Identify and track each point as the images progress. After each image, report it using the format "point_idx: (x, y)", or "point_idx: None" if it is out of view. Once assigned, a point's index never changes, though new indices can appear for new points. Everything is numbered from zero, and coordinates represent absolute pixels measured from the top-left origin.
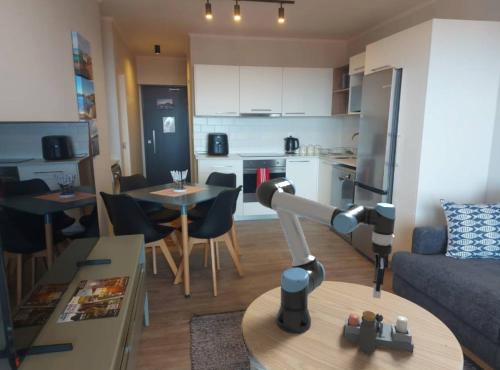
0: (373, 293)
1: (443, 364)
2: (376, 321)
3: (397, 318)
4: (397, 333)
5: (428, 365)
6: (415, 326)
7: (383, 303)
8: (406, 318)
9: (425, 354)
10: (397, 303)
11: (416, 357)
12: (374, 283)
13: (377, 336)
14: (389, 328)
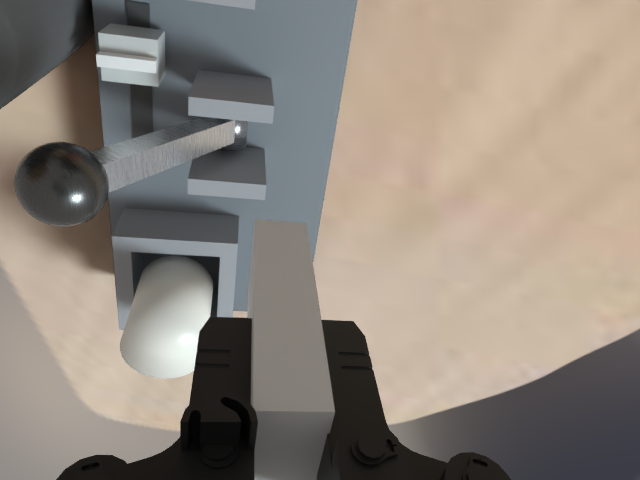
0: (271, 251)
1: (71, 371)
2: (130, 143)
3: (162, 320)
4: (118, 258)
5: (32, 316)
6: (373, 333)
7: (622, 228)
8: (182, 373)
9: None
10: (605, 299)
11: (80, 281)
12: (277, 386)
13: (133, 110)
14: (267, 212)
